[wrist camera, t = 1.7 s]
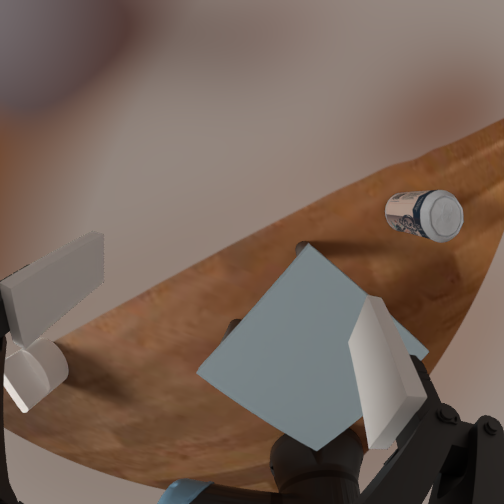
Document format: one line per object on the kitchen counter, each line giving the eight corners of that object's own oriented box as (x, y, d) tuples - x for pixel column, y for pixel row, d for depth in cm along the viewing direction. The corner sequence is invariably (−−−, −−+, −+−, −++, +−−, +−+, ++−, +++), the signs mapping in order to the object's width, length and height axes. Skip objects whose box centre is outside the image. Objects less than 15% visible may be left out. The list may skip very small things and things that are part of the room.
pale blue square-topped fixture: (393, 311, 37) (429, 351, 25) (311, 393, 40) (316, 451, 28) (302, 231, 36) (309, 245, 25) (221, 327, 39) (196, 373, 28)
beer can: (380, 226, 35) (420, 237, 24) (387, 188, 34) (429, 183, 23) (413, 234, 35) (461, 248, 23) (420, 198, 34) (470, 197, 22)
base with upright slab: (76, 372, 44) (36, 406, 32) (54, 386, 46) (17, 416, 34) (47, 330, 44) (2, 356, 32) (28, 347, 45) (-12, 372, 33)
